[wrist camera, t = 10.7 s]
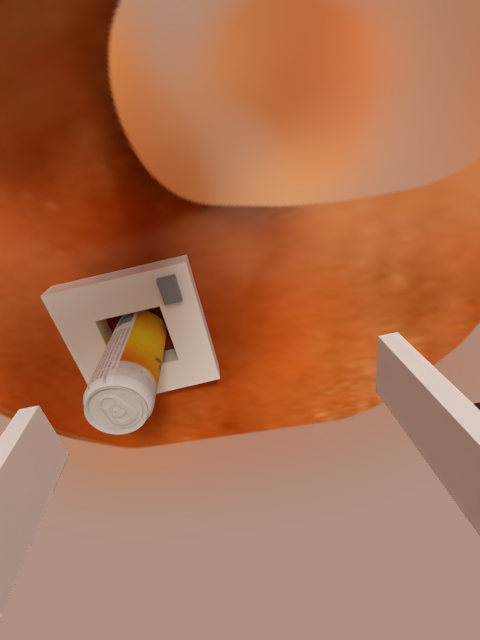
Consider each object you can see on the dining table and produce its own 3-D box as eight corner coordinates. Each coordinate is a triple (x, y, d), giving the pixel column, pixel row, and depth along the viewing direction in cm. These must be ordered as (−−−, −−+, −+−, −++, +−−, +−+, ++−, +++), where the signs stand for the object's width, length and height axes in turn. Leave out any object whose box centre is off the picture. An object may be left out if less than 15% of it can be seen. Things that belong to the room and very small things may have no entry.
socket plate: (51, 286, 38) (36, 299, 35) (186, 254, 38) (185, 264, 35) (105, 392, 45) (97, 411, 42) (218, 365, 45) (220, 382, 42)
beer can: (139, 357, 43) (113, 447, 30) (107, 323, 41) (62, 407, 28) (177, 334, 42) (166, 416, 29) (146, 298, 40) (119, 371, 27)
